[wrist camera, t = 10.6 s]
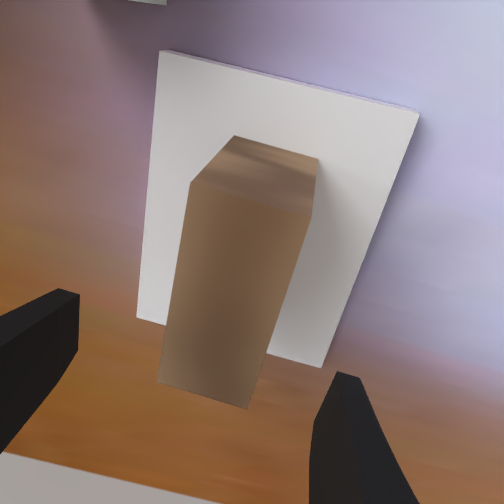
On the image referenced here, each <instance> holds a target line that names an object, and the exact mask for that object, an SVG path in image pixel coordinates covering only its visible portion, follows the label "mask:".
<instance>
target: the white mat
mask: <svg viewBox="0 0 504 504" xmlns="http://www.w3.org/2000/svg"><path fill="white" fill-rule="evenodd" d="M419 116H420V113H419V112H418V111H417V110H415V109H411V108H407V107H403V106H399V105H395V104H391V103H387V102H382V101H378V100H374V99H370V98H366V97H362V96H358V95H354V94H349V93H345V92H341V91H337V90H333V89H329V88H325V87H321V86H316V85H312V84H308V83H304V82H300V81H296V80H292V79H288V78H283V77H279V76H275V75H271V74H267V73H263V72H259V71H255V70H250V69H246V68H242V67H238V66H234V65H230V64H226V63H222V62H217V61H213V60H209V59H205V58H201V57H197V56H193V55H189V54H184V53H180V52H176V51H172V50H161V51H159V60H158V71H157V83H156V95H155V106H154V118H153V130H152V141H151V153H150V165H149V176H148V188H147V200H146V211H145V223H144V235H143V246H142V258H141V270H140V282H139V293H138V305H137V318H141V319H144V320H148V321H152V322H155V323H159V324H162V325H166V322H167V317H168V311H169V305H170V299H171V293H172V287H173V281H174V275H175V269H176V263H177V257H178V251H179V245H180V240H181V234H182V228H183V222H184V216H185V210H186V204H187V198H188V192H189V186H190V182H191V181H192V180H193V179H194V178H195V177H196V176H197V175H198V174H199V173H200V172H201V170H202V169H203V168H204V167H205V166H206V165H207V164H208V163H209V162H210V161H211V160H212V159H213V157H214V156H215V155H216V154H217V153H218V152H219V151H220V150H221V149H222V148H223V147H224V146H225V144H226V143H227V142H228V141H229V140H230V139H231V138H232V137H233V136H234V135H235V136H239V137H242V138H246V139H249V140H253V141H257V142H260V143H264V144H267V145H271V146H274V147H278V148H281V149H285V150H288V151H292V152H296V153H299V154H303V155H306V156H310V157H313V158H317V159H318V166H317V174H316V183H315V192H314V201H313V210H312V218H311V221H310V224H309V227H308V230H307V233H306V236H305V239H304V242H303V245H302V248H301V251H300V254H299V257H298V260H297V263H296V266H295V269H294V272H293V275H292V278H291V281H290V283H289V286H288V289H287V292H286V295H285V298H284V301H283V304H282V307H281V310H280V313H279V316H278V319H277V322H276V325H275V328H274V331H273V334H272V337H271V340H270V343H269V346H268V349H267V352H266V353H267V354H271V355H275V356H278V357H282V358H285V359H289V360H293V361H296V362H300V363H303V364H307V365H311V366H314V367H318V368H321V367H322V364H323V362H324V359H325V357H326V354H327V352H328V349H329V346H330V344H331V341H332V339H333V336H334V334H335V331H336V329H337V326H338V323H339V321H340V318H341V316H342V313H343V311H344V308H345V305H346V303H347V300H348V298H349V295H350V293H351V290H352V288H353V285H354V282H355V280H356V277H357V275H358V272H359V270H360V267H361V264H362V262H363V259H364V257H365V254H366V252H367V249H368V247H369V244H370V241H371V239H372V236H373V234H374V231H375V229H376V226H377V223H378V221H379V218H380V216H381V213H382V211H383V208H384V206H385V203H386V200H387V198H388V195H389V193H390V190H391V188H392V185H393V183H394V180H395V177H396V175H397V172H398V170H399V167H400V165H401V162H402V159H403V157H404V154H405V152H406V149H407V147H408V144H409V142H410V139H411V136H412V134H413V131H414V129H415V126H416V124H417V121H418V118H419Z"/></svg>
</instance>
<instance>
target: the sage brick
mask: <svg viewBox="0 0 504 504" xmlns="http://www.w3.org/2000/svg"><path fill="white" fill-rule="evenodd" d="M130 1H137V2H144V3H152V4H159V5H167V0H130Z"/></svg>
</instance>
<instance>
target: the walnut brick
mask: <svg viewBox="0 0 504 504" xmlns="http://www.w3.org/2000/svg"><path fill="white" fill-rule="evenodd" d="M317 166H318V159H317V158H313V157H310V156H306V155H303V154H299V153H296V152H292V151H288V150H285V149H281V148H278V147H274V146H271V145H267V144H264V143H260V142H257V141H253V140H249V139H246V138H242V137H239V136H235V135H234V136H233V137H232V138H231V139H230V140H229V141H228V142H227V143H226V144H225V146H224V147H223V148H222V149H221V150H220V151H219V152H218V153H217V154H216V155H215V156H214V157H213V159H212V160H211V161H210V162H209V163H208V164H207V165H206V166H205V167H204V168H203V169H202V170H201V172H200V173H199V174H198V175H197V176H196V177H195V178H194V179H193V180H192V181H191V182H190V186H189V192H188V198H187V204H186V210H185V216H184V222H183V228H182V234H181V240H180V245H179V251H178V257H177V263H176V269H175V275H174V281H173V287H172V293H171V299H170V305H169V311H168V317H167V322H166V328H165V334H164V340H163V346H162V352H161V358H160V364H159V370H158V376H157V382H158V383H161V384H165V385H168V386H171V387H174V388H178V389H181V390H184V391H188V392H191V393H194V394H197V395H201V396H204V397H207V398H210V399H214V400H217V401H220V402H224V403H227V404H230V405H233V406H237V407H240V408H243V409H246V410H247V408H248V405H249V402H250V400H251V397H252V394H253V391H254V388H255V385H256V382H257V379H258V376H259V373H260V370H261V367H262V364H263V361H264V358H265V355H266V352H267V349H268V346H269V343H270V340H271V337H272V334H273V331H274V328H275V325H276V322H277V319H278V316H279V313H280V310H281V307H282V304H283V301H284V298H285V295H286V292H287V289H288V286H289V283H290V281H291V278H292V275H293V272H294V269H295V266H296V263H297V260H298V257H299V254H300V251H301V248H302V245H303V242H304V239H305V236H306V233H307V230H308V227H309V224H310V221H311V218H312V210H313V201H314V192H315V183H316V174H317Z"/></svg>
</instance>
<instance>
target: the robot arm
mask: <svg viewBox="0 0 504 504" xmlns="http://www.w3.org/2000/svg"><path fill="white" fill-rule="evenodd" d="M79 303H80V295H79V294H76V293H73V292H69V291H66V290H63V289H59V288H58V289H56V290H54V291H52V292H49V293H47V294H45V295H43V296H41V297H39V298H37V299H35V300H33V301H31V302H29V303H27V304H25V305H23V306H20V307H18V308H16V309H14V310H12V311H10V312H8V313H6V314H4V315H1V316H0V454H1V453H2V452H3V450H4V449H5V448H6V447H7V445H8V444H9V443H10V442H11V440H12V439H13V438H14V437H15V435H16V434H17V433H18V432H19V431H20V429H21V428H22V427H23V426H24V424H25V423H26V422H27V421H28V419H29V418H30V417H31V416H32V414H33V413H34V412H35V411H36V410H37V408H38V407H39V406H40V405H41V403H42V402H43V401H44V399H45V398H46V397H47V396H48V394H49V393H50V392H51V391H52V389H53V388H54V387H55V386H56V384H57V383H58V382H59V380H60V378H61V377H62V375H63V374H64V372H65V371H66V369H67V368H68V366H69V364H70V363H71V361H72V359H73V357H74V356H75V354H76V352H77V351H78V334H79ZM309 504H419V502H418V500H417V498H416V497H415V495H414V493H413V491H412V489H411V487H410V486H409V484H408V482H407V480H406V478H405V476H404V474H403V472H402V470H401V468H400V467H399V465H398V463H397V461H396V458H395V456H394V454H393V452H392V450H391V448H390V446H389V444H388V442H387V440H386V438H385V435H384V433H383V431H382V429H381V427H380V424H379V422H378V420H377V417H376V415H375V413H374V410H373V408H372V406H371V403H370V401H369V398H368V396H367V394H366V391H365V389H364V386H363V384H362V382H361V380H360V378H358V377H355V376H352V375H348V374H345V373H342V372H338V371H337V373H336V375H335V377H334V379H333V381H332V383H331V386H330V388H329V390H328V392H327V394H326V396H325V399H324V401H323V403H322V405H321V407H320V410H319V412H318V414H317V416H316V418H315V420H314V425H313V433H312V441H311V450H310V459H309Z"/></svg>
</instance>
